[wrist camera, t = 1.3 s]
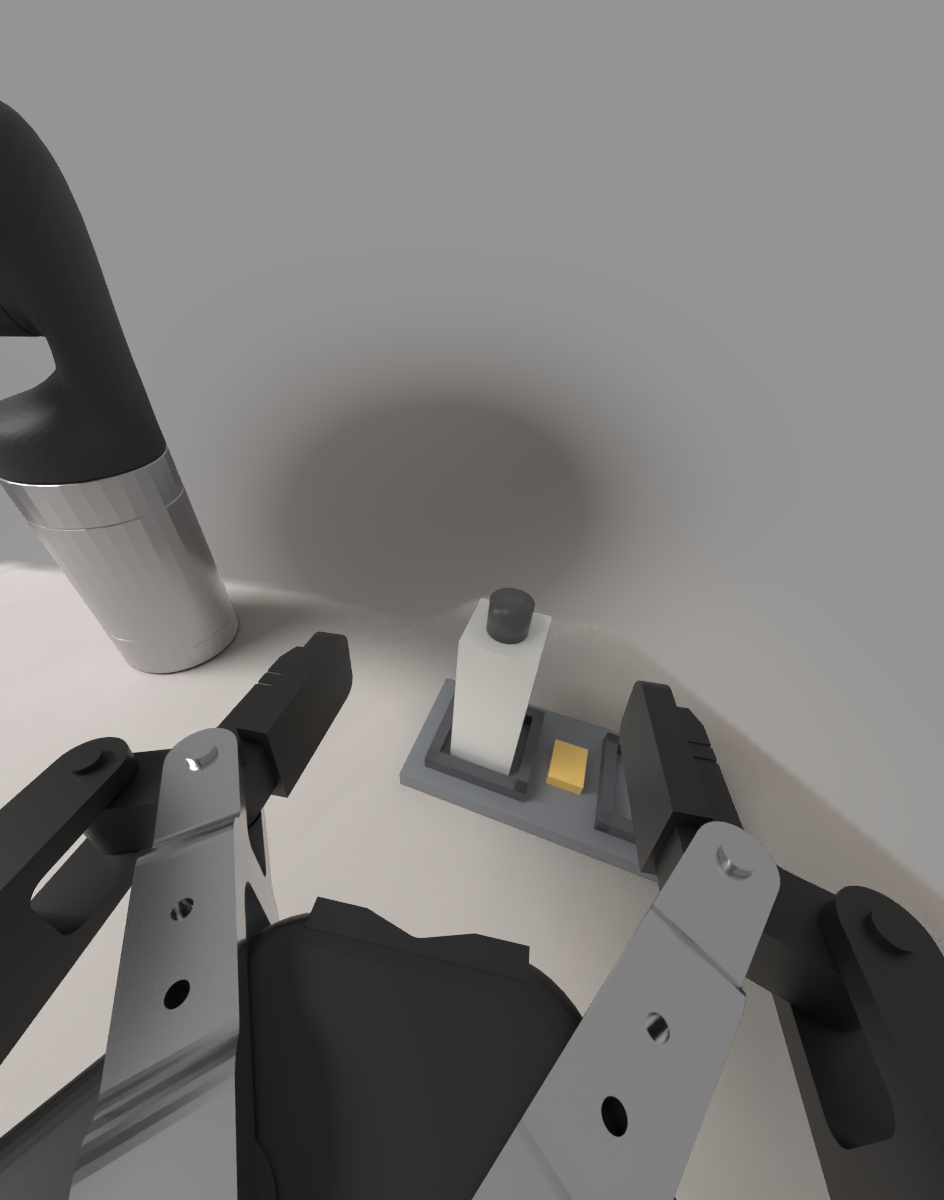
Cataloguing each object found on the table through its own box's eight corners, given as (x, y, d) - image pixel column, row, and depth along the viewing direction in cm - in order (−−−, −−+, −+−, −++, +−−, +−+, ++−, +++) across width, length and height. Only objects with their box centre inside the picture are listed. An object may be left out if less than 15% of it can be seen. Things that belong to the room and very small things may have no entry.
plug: (450, 755, 30) (460, 614, 21) (468, 711, 33) (484, 571, 24) (508, 776, 29) (545, 638, 20) (521, 729, 32) (559, 590, 23)
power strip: (400, 783, 30) (398, 764, 28) (446, 688, 36) (447, 669, 35) (726, 908, 25) (748, 895, 24) (710, 775, 32) (727, 757, 30)
